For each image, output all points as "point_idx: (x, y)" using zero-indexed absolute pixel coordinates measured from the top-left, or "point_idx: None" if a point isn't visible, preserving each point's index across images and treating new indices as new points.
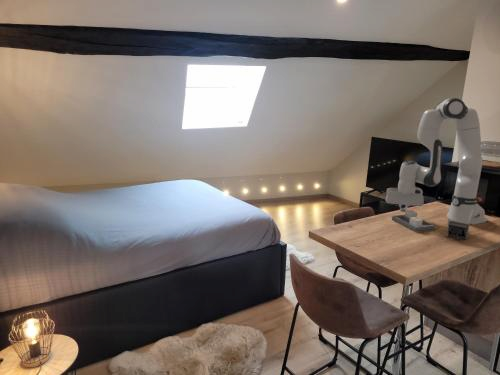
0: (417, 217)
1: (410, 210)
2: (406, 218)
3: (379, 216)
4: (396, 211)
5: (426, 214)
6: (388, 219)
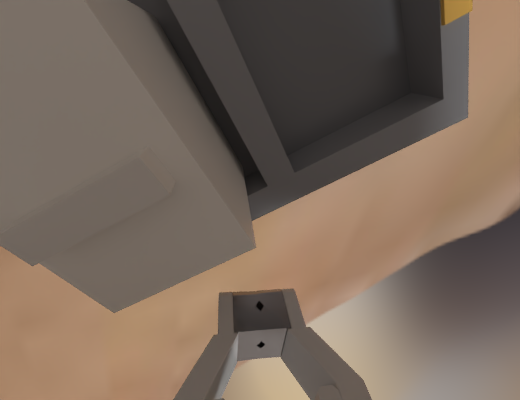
0: None
1: (129, 284)
2: (237, 47)
3: (486, 194)
4: None
5: (3, 369)
6: None
